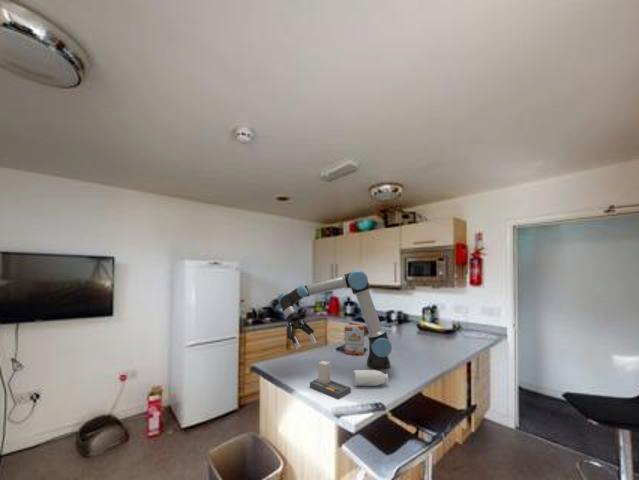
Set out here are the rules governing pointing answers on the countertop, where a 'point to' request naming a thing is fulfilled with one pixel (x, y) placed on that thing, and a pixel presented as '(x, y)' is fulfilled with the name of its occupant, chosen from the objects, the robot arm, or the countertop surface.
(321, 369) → the switch tab
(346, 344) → the cracker box
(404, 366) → the countertop surface
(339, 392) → the switch plate
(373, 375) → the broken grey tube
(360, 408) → the countertop surface
